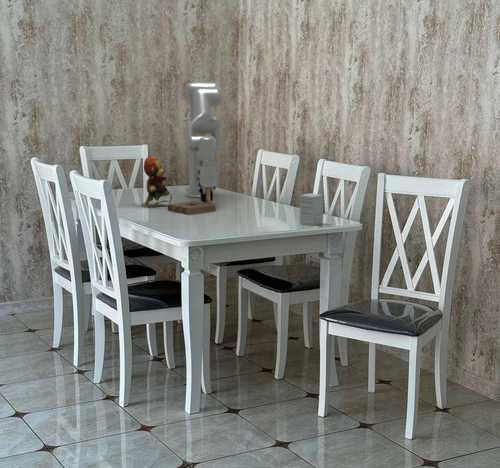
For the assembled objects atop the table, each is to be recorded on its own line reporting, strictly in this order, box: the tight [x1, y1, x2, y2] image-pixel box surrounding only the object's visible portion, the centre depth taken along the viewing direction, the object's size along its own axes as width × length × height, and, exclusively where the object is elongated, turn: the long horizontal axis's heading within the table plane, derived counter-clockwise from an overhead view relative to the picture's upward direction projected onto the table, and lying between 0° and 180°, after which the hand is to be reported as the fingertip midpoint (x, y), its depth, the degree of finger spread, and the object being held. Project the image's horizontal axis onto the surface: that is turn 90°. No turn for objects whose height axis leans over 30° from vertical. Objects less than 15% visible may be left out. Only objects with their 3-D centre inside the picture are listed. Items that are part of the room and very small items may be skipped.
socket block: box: [167, 200, 217, 216], centre depth 387 cm, size 16×16×3 cm
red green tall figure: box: [143, 155, 172, 208], centre depth 400 cm, size 15×17×25 cm
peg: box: [202, 187, 211, 204], centre depth 396 cm, size 4×4×12 cm
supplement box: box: [299, 192, 324, 226], centre depth 353 cm, size 7×7×13 cm
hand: (206, 200), depth 397 cm, fingers closed on peg, 3 cm apart
